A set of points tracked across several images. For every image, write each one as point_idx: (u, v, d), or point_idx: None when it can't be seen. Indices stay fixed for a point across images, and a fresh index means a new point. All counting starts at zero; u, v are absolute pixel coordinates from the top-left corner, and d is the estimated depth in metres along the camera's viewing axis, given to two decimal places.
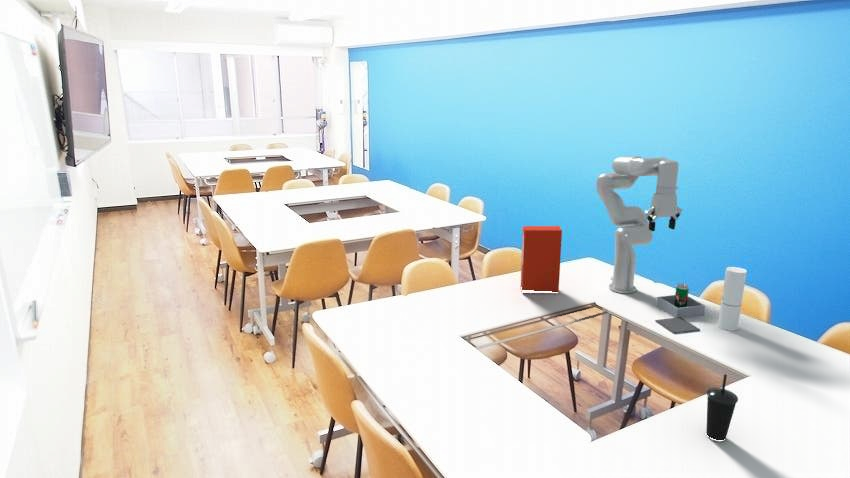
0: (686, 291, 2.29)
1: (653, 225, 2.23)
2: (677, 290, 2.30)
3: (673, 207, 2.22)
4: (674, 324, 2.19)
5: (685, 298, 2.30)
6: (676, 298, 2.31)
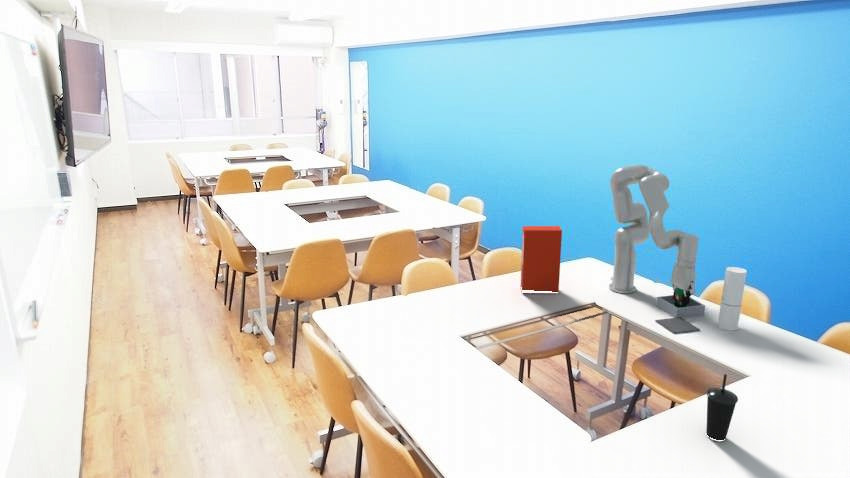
0: None
1: None
2: (677, 290, 2.30)
3: None
4: (674, 324, 2.19)
5: None
6: (676, 298, 2.31)
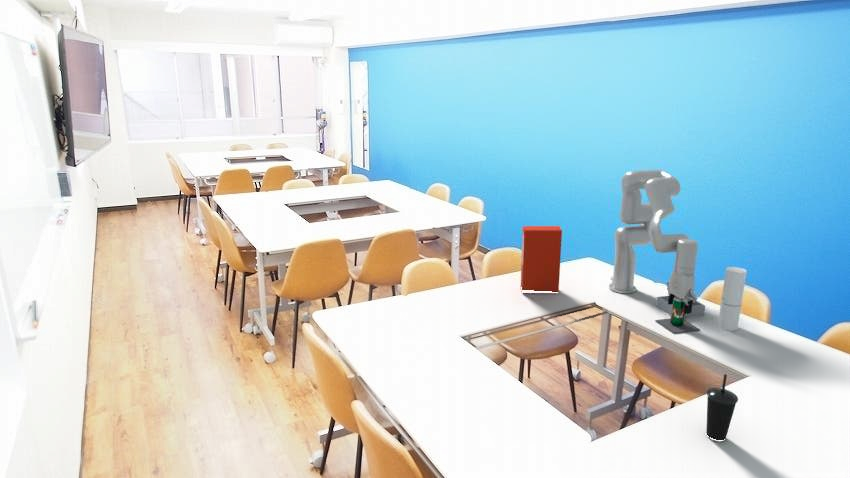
0: (684, 304, 2.14)
1: None
2: (674, 302, 2.16)
3: None
4: None
5: (682, 311, 2.15)
6: (673, 311, 2.17)
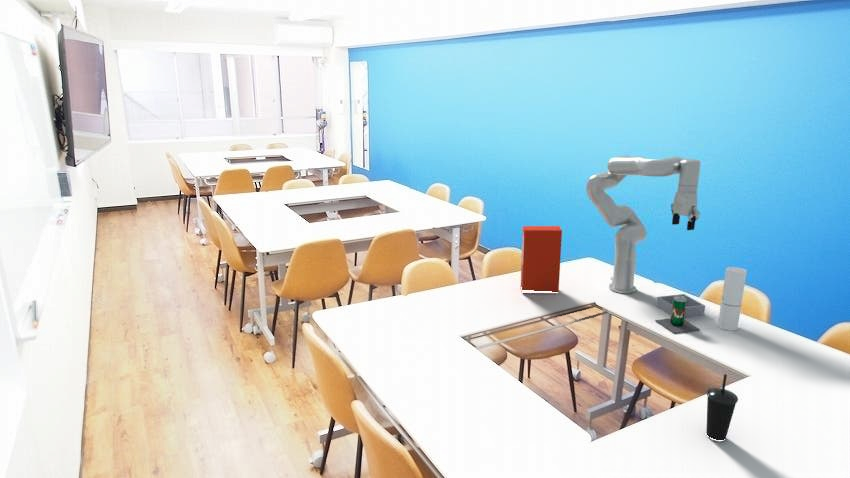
0: (684, 304, 2.14)
1: None
2: (674, 302, 2.16)
3: None
4: None
5: (682, 311, 2.15)
6: (673, 311, 2.17)
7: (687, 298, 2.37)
